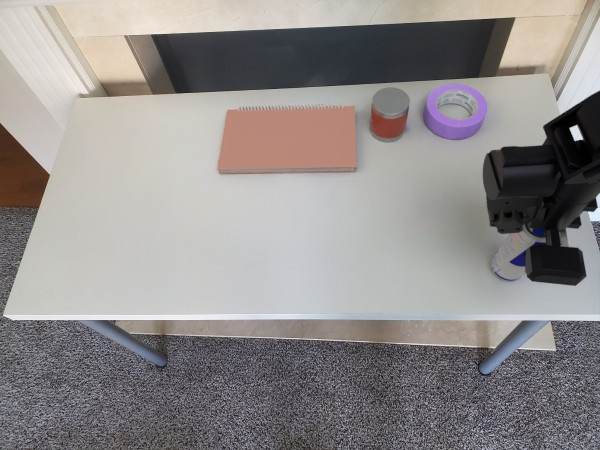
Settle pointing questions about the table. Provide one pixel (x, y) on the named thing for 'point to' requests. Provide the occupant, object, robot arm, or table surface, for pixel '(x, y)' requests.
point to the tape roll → (451, 126)
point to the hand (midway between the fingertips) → (525, 243)
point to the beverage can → (516, 253)
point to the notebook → (289, 140)
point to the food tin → (389, 114)
